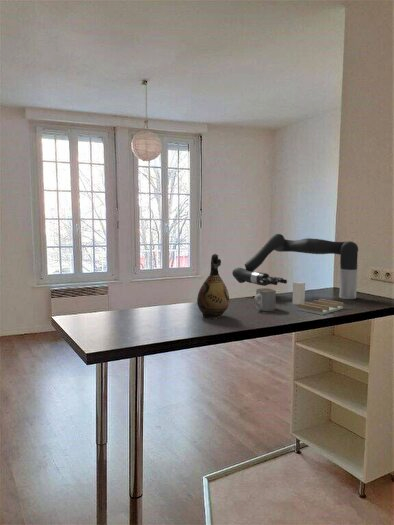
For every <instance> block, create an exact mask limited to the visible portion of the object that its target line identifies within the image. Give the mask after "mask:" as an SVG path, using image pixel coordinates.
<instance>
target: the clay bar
mask: <svg viewBox="0 0 394 525" xmlns="http://www.w3.org/2000/svg"><path fill="white" fill-rule="evenodd" d="M305 295H306V282H303V281H294V282H292V304H293V305H297V306H298V304H304V302H306V301H305V298H306V296H305Z"/></svg>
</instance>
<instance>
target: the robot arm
mask: <svg viewBox="0 0 394 525" xmlns="http://www.w3.org/2000/svg"><path fill="white" fill-rule="evenodd" d="M273 251H276V252H281V253H284V252H294V253H303V254H309V255H310V254H311V255H329V254H332V255H333V254H335V255H339V256H340V258H339V259H340V262H339V264H340V271H339V294H338V296H339V298H340V299H344V300H354V299H355V300H356V299H357V288H358V287H357V286H358V285H357V284H358V282H357V280H358V279H357V278H358V252H359V246H358V244H357V243H356V242H354V241H333V240H332V241H331V240H328V239H321V238H320V239H319V238H309V237H307V238H302V239H296V240H290V239H285V237H284V235H282V233H275V234H274V235H272V236H271V237H270V238H269V240H267V242H266V243H265V244H264V245H263V247H261V248H260V249H259V251H258V252H256V253H255V255H253V256H252V257H251V258H249V260H247V261H246V262H245V263H244V268H242V267H236V268H234V269H233V270H232V273H231V274H232V276H233V277H234V279H235V280H236V281H237V282H238V283H239V284H243V283H245V282H247V283H249V284H253V285H258V286H262V287H267V286H269V285H270V286H271V285H274V286H278V284H279V283H280V284H285V285H286V284H287V283H288V280H287V279H284V278H283V277H277V276H270V275H269V274H268V273H267V272H261V271H260V272H259V271H256V270H257V269H258V268H259V267H260V266H262V264H263V263H264V261H265V260H266V259H267V257H268V256H269V255H270V254H271V253H272V252H273Z"/></svg>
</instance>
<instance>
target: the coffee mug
mask: <svg viewBox="0 0 394 525" xmlns="http://www.w3.org/2000/svg"><path fill="white" fill-rule="evenodd" d="M276 291H277V290H276V289H274V288H271V287H270V288H268V287H260V288H257V289H256V291H255V293H256V294H255V295H254V298H253V304H254V305H255V309H256V310H258V311H261V312H262V311H263V312H264V311H265V312H271V311H275V310H276V298H277V297H276V296H277V292H276Z"/></svg>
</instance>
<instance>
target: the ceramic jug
mask: <svg viewBox="0 0 394 525" xmlns="http://www.w3.org/2000/svg"><path fill="white" fill-rule="evenodd" d="M210 260H211V261H210V274H209V275H208V276H207V277H206V278H205V280H204V281H203V283H202V284H201V286H200V289H199V291H198V294H197V300H196V304H197V307H198V309H199V311H200V312H201V313H202V318H204V319H208V318H211V319H210V320H215V319H216V318H217V319H221V318H222V316H223V315H224V313H225V312H226V311H227V310H228V308H229V305H230V296H229V293H230V292H229V290H228V289H227V286H226V284H225V283H224V281H223V279H222V277H221V276H220V274H219V270H218V268H219V267H220V266H221V264H222V261H221V259H220V258H219V255H218V254H216V253H213V254H212V255H211V259H210ZM220 317H221V318H220ZM214 318H215V319H214Z"/></svg>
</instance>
